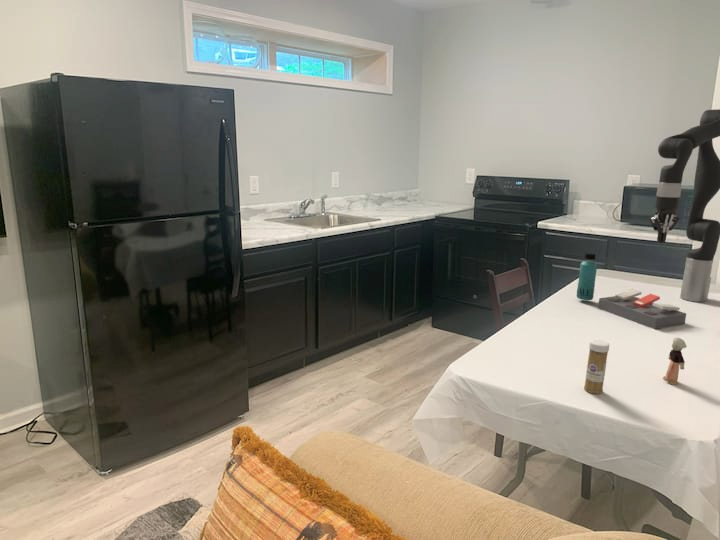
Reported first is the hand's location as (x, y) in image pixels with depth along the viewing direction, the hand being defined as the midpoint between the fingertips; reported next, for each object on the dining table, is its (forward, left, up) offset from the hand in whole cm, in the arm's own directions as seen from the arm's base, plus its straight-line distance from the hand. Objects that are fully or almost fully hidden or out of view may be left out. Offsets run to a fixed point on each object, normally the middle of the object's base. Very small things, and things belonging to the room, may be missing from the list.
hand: (660, 242), depth 198 cm
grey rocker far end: (+6, +10, -22) cm, 25 cm away
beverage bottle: (+14, -19, -27) cm, 36 cm away
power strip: (+8, +2, -27) cm, 28 cm away
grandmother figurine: (+48, +46, -27) cm, 72 cm away
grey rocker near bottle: (+6, -6, -22) cm, 23 cm away
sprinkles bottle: (+72, +42, -27) cm, 88 cm away
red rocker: (+6, +2, -22) cm, 23 cm away
